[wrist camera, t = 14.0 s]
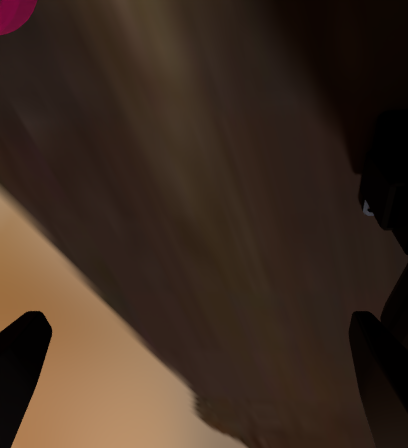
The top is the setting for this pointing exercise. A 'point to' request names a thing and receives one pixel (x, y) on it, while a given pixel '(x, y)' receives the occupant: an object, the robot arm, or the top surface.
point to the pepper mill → (14, 14)
